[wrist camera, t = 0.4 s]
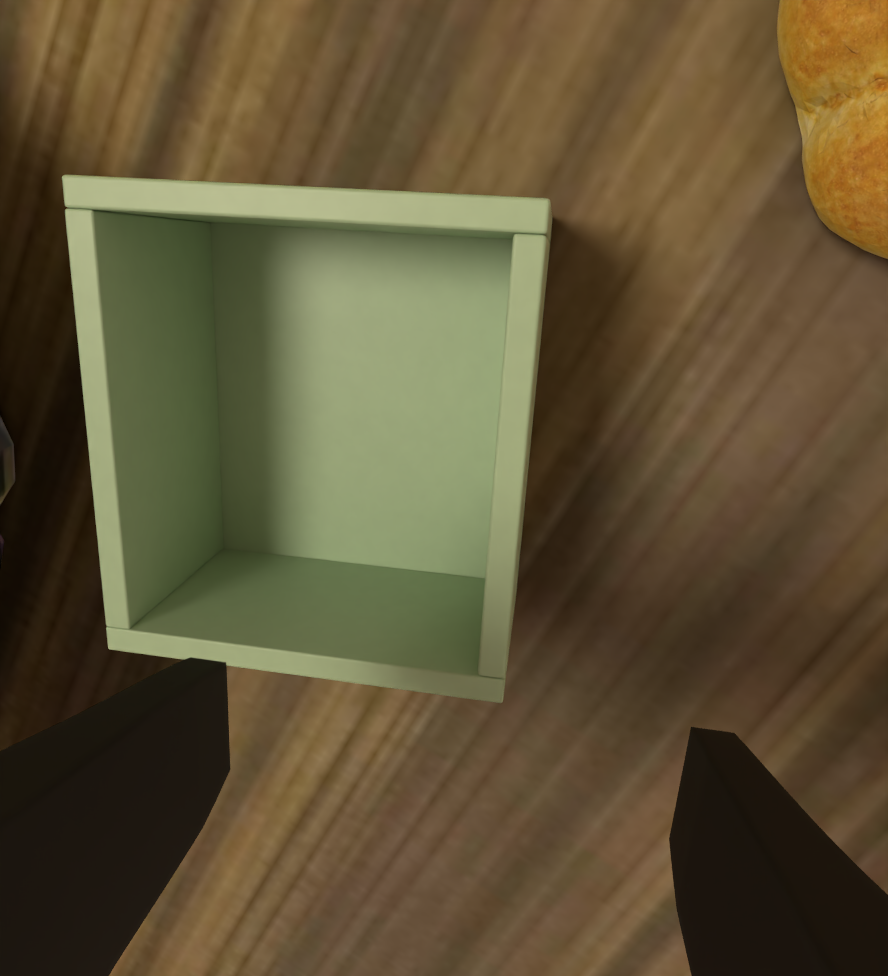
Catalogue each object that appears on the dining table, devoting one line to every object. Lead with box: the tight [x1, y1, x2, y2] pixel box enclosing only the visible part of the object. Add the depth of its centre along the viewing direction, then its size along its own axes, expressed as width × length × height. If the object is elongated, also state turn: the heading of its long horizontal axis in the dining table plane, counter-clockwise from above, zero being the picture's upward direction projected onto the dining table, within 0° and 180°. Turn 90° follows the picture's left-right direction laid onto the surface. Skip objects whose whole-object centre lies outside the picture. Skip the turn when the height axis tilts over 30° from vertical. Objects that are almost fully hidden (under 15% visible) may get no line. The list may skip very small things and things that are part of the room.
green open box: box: [62, 175, 553, 703], centre depth 17 cm, size 10×9×6 cm
